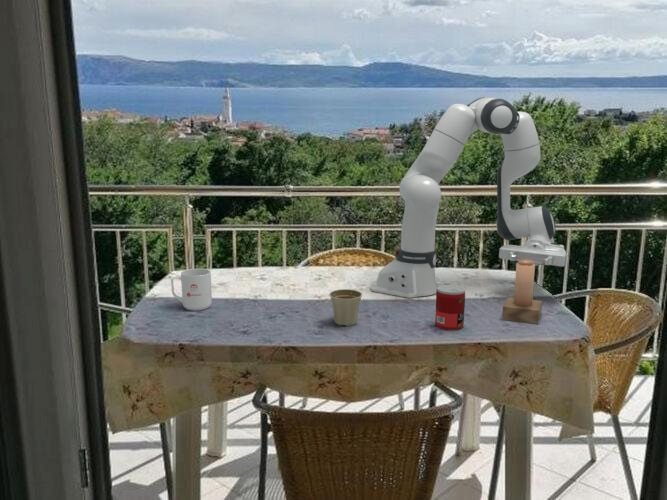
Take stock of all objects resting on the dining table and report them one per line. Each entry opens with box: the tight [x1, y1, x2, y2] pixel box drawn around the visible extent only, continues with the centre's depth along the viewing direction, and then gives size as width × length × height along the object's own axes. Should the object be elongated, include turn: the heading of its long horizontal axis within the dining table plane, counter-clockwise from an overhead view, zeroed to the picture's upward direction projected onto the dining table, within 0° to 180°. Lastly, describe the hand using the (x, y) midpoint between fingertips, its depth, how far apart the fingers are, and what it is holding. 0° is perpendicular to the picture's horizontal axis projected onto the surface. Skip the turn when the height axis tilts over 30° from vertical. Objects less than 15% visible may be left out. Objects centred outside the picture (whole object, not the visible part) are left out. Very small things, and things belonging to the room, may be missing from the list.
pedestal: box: [501, 296, 543, 325], centre depth 189 cm, size 10×10×4 cm
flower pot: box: [328, 288, 363, 327], centre depth 184 cm, size 9×9×9 cm
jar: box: [513, 259, 536, 306], centre depth 187 cm, size 5×5×13 cm
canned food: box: [434, 284, 466, 331], centre depth 181 cm, size 8×8×11 cm
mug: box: [170, 268, 213, 312], centre depth 198 cm, size 12×9×11 cm
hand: (528, 260), depth 197 cm, fingers open, 8 cm apart
